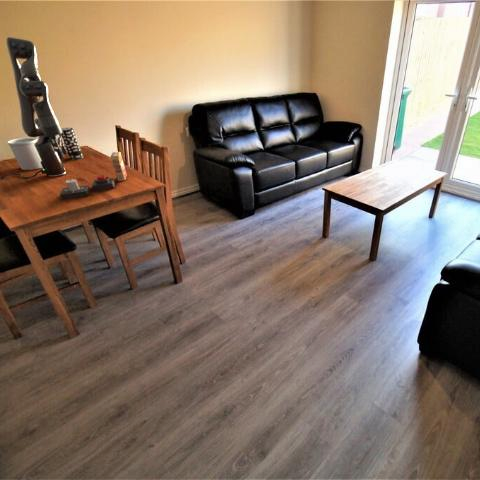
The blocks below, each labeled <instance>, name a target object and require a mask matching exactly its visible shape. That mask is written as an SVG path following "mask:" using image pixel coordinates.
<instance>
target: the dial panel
mask: <svg viewBox="0 0 480 480" xmlns="http://www.w3.org/2000/svg"><path fill="white" fill-rule="evenodd" d="M78 186H79V188H80V189H79V190H76V191H69V189H68V187H63V188H62V189H61V191H60V193H59V197H60V199H61V201H64V200H71V199H77V198H78V199H79V198H85V197H89V195H90V191H91V188H90V186H89V184H84V185H78Z"/></svg>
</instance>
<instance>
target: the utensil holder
mask: <svg viewBox="0 0 480 480" xmlns="http://www.w3.org/2000/svg"><path fill="white" fill-rule="evenodd" d="M37 141H38V139H37V137H20V138H14V139H10V140H8V141H7V145H8V146H9V147H10V150H11V152H12V154H13V155H14V158H15V160H16V162H17V164H18V165H19V167H20V169H21V170H23V171H33V170H40V169H42V168H43V167H42V165H41V158H40V156H39V154H38V152H37V150H36V148H35V145H34V144H35V143H36V142H37Z"/></svg>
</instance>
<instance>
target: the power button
mask: <svg viewBox="0 0 480 480" xmlns="http://www.w3.org/2000/svg"><path fill="white" fill-rule="evenodd" d="M106 177H107V176H106V175H105V174H99V175H97V176H96V179H98V180H105V179H106Z"/></svg>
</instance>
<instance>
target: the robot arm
mask: <svg viewBox="0 0 480 480" xmlns="http://www.w3.org/2000/svg"><path fill="white" fill-rule="evenodd" d="M6 47H7V53H8V56H9V59H10V63H11V66H12V70H13V76H14V82H15V88H16V94H17V98H18V101H19V110H20V119H21V127H22V130H23V132H24V133H25V135H26V136H27V137H28V138H38V139H37V140H38V141H37V142H36V143H35V144H34V145H35V148H36V150H37V152H38V154H39V156H40V158H41V165H42V167H43V168H40V170H38V171H36V172H35V174H33V175H30V176H23V174H22V173H9V174H5V175H2V176H1V178H0V180H3V179H4V178H6V177H9V176H20V178H21V179H30V178H34V177H37V176H38V174H39V173H41V174H42V175H45V176H46V177H49V178H56V177H62V176H64V175H66V174H67V171H66V168H65V167H64V164H63V162H62V160H64V159H65V155H68V153H67V151H66V148H65V143H64V141H63V139H62V136H61V134H62V133H63V132H62V130H61V128H62V127H61V125H60V123H59V119H58V118H57V116H56V114H55V111H54V110H53V107H52V104H51V100H50V89H49V85H48V84H47V83H46V82H45V81H43V80H42V78H41V74H40V70H39V59H38V51H37V48H36V45H35V43H34V42H33V41H31V40H28V39H23V38H18V37H14V36H13V37H12V36H7V37H6ZM20 60H24V61H23V62H22V63H20ZM41 98H42V99H41ZM35 115H36V117H37V118H35Z"/></svg>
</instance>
